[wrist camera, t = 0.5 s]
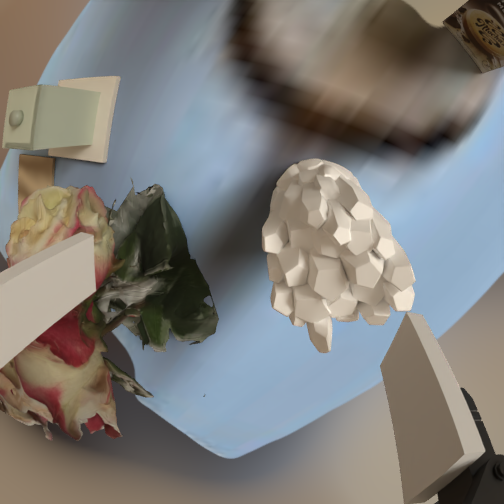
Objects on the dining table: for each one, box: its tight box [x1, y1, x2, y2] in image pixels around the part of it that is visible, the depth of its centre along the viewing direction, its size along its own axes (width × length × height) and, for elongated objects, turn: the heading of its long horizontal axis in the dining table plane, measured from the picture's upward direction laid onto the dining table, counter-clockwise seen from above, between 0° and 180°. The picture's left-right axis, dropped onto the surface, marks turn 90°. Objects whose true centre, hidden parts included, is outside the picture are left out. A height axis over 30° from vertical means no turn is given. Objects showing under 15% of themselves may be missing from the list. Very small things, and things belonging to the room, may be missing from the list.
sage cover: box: [2, 85, 101, 150], centre depth 30 cm, size 8×8×13 cm
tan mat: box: [18, 154, 55, 214], centre depth 43 cm, size 16×11×1 cm
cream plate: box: [48, 76, 121, 163], centre depth 36 cm, size 13×13×3 cm
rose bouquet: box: [0, 179, 219, 441], centre depth 31 cm, size 26×29×30 cm
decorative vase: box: [262, 159, 416, 353], centre depth 24 cm, size 11×11×25 cm
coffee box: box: [443, 0, 504, 73], centre depth 16 cm, size 9×6×16 cm
